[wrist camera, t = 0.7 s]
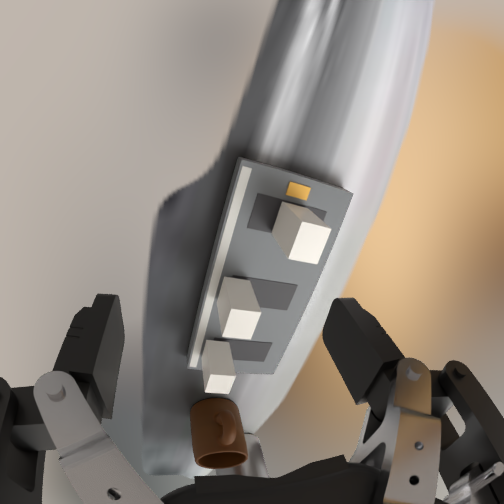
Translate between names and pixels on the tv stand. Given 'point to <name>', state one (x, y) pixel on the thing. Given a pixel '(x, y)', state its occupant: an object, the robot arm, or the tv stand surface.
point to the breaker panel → (263, 261)
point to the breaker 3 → (300, 233)
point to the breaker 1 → (217, 367)
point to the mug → (217, 434)
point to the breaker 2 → (237, 308)
